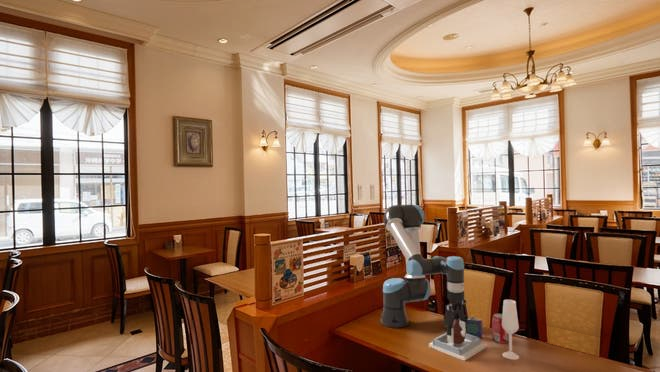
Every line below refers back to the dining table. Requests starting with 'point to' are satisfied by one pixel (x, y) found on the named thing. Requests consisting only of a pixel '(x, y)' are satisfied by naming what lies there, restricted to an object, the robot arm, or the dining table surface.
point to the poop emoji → (458, 332)
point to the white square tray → (458, 346)
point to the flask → (474, 326)
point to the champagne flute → (510, 325)
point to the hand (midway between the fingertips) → (456, 338)
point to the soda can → (498, 329)
